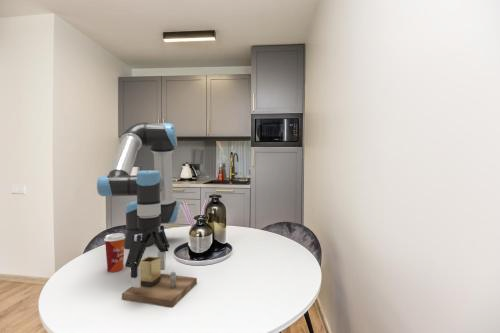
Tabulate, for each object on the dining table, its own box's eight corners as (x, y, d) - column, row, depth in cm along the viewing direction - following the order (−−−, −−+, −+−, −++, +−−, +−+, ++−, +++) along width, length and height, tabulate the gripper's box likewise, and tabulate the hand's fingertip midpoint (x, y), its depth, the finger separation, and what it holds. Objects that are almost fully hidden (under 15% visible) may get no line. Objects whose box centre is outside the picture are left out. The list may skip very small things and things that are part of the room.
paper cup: (117, 274, 102) (116, 238, 102) (100, 272, 104) (99, 237, 104) (130, 266, 110) (129, 233, 110) (114, 265, 111) (113, 232, 111)
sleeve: (148, 278, 93) (148, 256, 92) (160, 280, 91) (160, 257, 91) (138, 285, 88) (138, 261, 88) (151, 286, 86) (151, 262, 86)
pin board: (153, 277, 99) (153, 259, 98) (196, 283, 94) (196, 264, 94) (121, 299, 83) (121, 277, 83) (171, 307, 78) (171, 284, 78)
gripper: (161, 208, 102) (161, 262, 103) (111, 223, 78) (112, 293, 79) (178, 209, 100) (179, 264, 101) (132, 224, 76) (133, 297, 77)
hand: (149, 277), depth 90 cm, fingers open, 13 cm apart
